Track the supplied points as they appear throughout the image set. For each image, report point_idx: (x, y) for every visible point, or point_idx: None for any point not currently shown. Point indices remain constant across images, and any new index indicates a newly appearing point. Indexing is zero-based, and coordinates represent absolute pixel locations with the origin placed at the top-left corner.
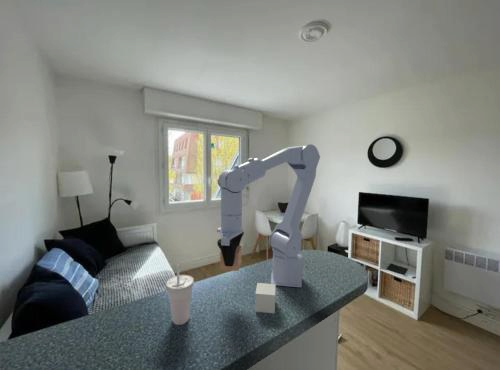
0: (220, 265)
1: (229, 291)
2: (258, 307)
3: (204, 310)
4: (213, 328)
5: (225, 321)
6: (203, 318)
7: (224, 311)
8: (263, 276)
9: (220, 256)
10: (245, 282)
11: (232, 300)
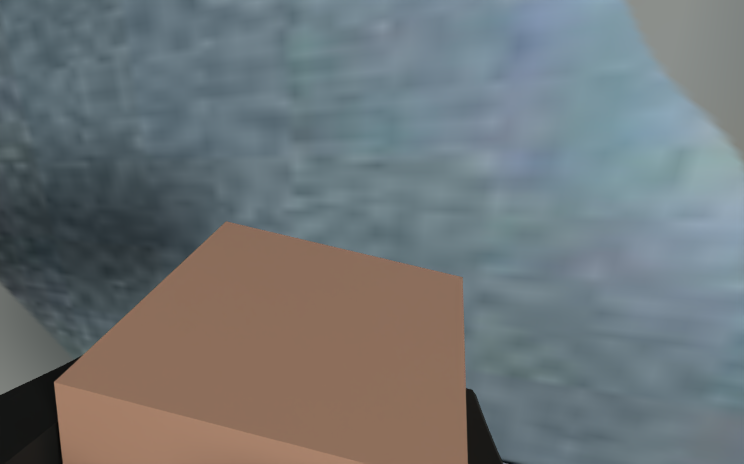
0: (201, 247)
1: (437, 194)
2: None
3: (211, 18)
4: (69, 101)
5: (132, 168)
6: (134, 24)
7: (214, 161)
8: (612, 439)
9: (117, 324)
10: (549, 314)
11: (326, 213)
